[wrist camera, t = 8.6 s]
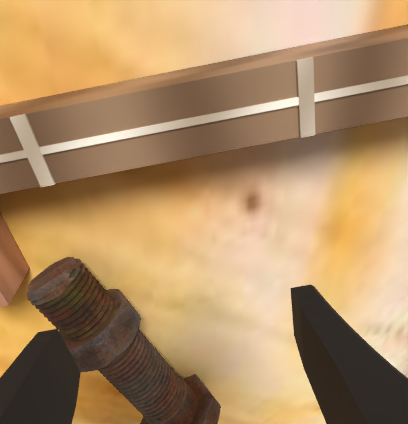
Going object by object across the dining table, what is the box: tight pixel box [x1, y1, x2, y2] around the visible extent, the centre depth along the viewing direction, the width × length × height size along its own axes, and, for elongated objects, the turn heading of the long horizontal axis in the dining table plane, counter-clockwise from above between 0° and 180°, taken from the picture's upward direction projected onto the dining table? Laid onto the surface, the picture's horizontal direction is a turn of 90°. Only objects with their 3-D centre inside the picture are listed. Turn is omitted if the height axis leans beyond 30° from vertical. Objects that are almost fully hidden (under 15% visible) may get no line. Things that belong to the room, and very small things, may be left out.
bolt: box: [27, 257, 221, 424], centre depth 23 cm, size 6×5×15 cm
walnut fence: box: [0, 25, 408, 307], centre depth 17 cm, size 26×9×3 cm, turn 100°
